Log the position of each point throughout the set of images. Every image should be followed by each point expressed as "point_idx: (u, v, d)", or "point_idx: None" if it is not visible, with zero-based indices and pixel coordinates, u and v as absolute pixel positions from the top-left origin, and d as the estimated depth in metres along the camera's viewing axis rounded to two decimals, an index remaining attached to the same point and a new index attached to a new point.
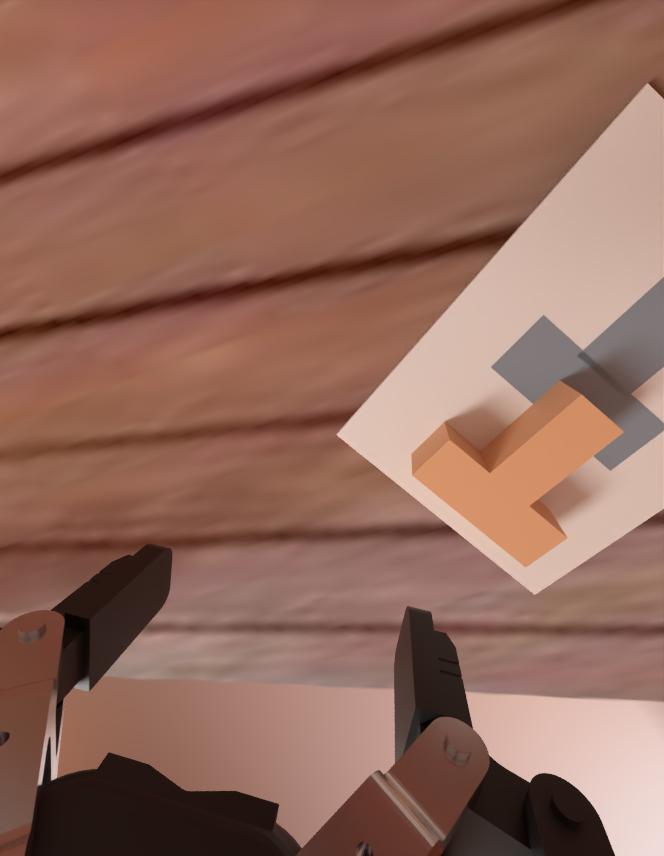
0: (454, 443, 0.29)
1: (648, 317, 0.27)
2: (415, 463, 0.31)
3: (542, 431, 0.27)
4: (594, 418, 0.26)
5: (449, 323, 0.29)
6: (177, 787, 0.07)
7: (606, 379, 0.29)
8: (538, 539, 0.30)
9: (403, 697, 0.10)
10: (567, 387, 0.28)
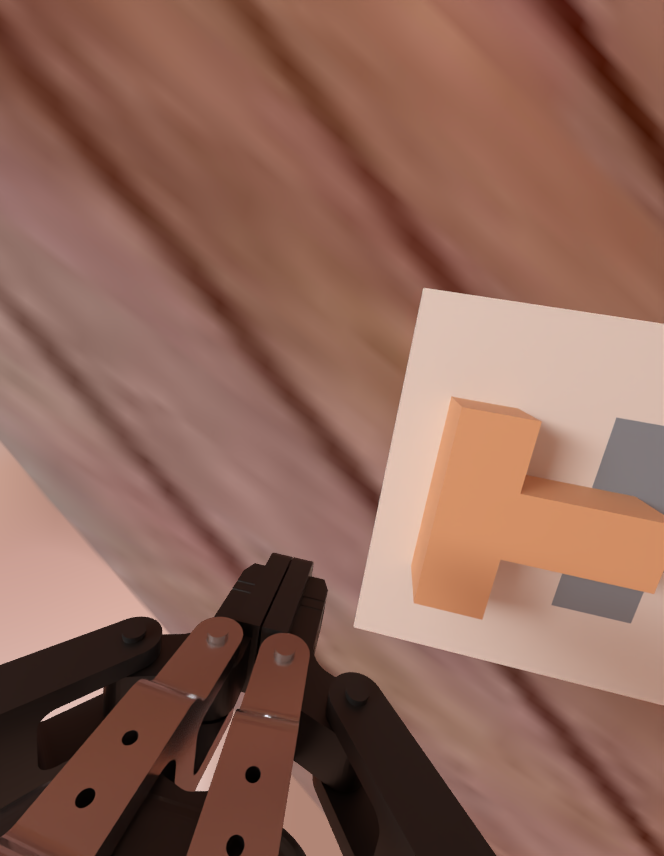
0: (537, 430, 0.20)
1: None
2: (465, 404, 0.22)
3: (612, 515, 0.20)
4: (657, 556, 0.20)
5: (652, 338, 0.22)
6: (177, 787, 0.07)
7: None
8: (461, 594, 0.22)
9: None
10: (652, 508, 0.22)
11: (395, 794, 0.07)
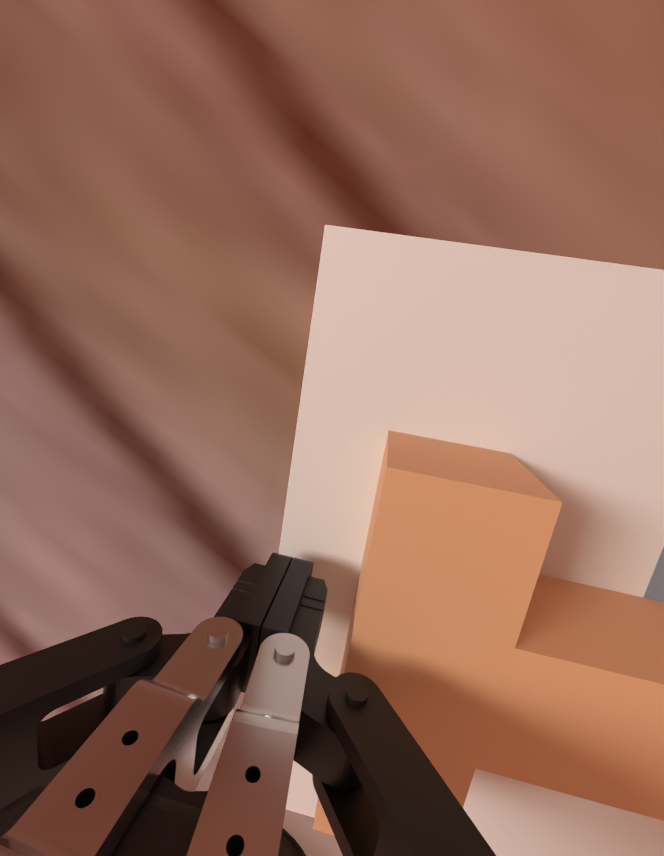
0: (552, 520, 0.09)
1: None
2: (403, 453, 0.11)
3: None
4: None
5: None
6: (177, 787, 0.07)
7: None
8: None
9: None
10: None
11: (395, 794, 0.07)
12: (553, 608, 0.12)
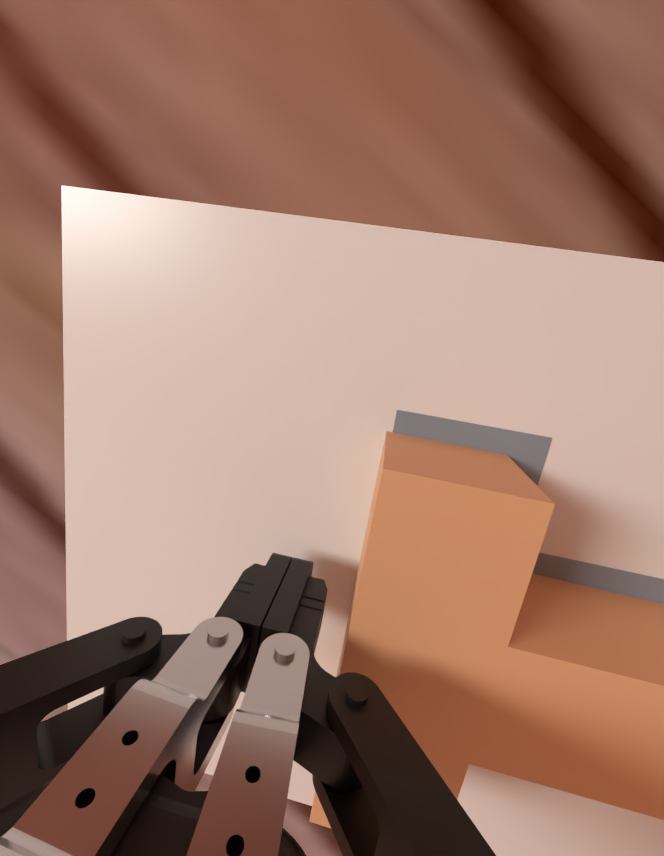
0: (545, 521, 0.09)
1: None
2: (400, 454, 0.11)
3: None
4: None
5: (439, 264, 0.12)
6: (177, 787, 0.07)
7: None
8: None
9: None
10: None
11: (395, 794, 0.07)
12: (547, 608, 0.12)
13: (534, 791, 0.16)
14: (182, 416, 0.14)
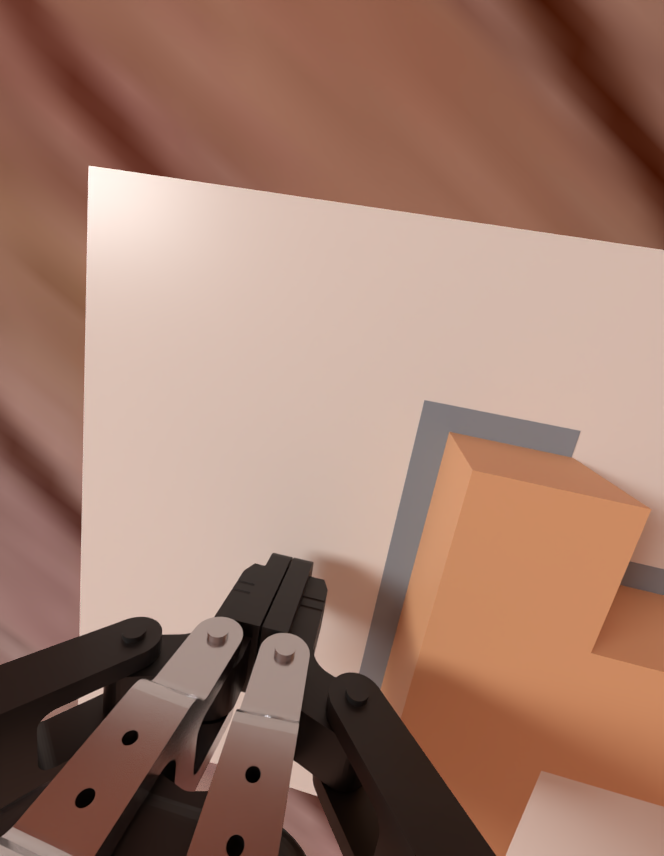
0: (638, 526, 0.09)
1: None
2: (478, 456, 0.11)
3: None
4: None
5: (473, 253, 0.12)
6: (177, 787, 0.07)
7: None
8: None
9: None
10: None
11: (395, 794, 0.07)
12: (617, 613, 0.12)
13: (548, 785, 0.16)
14: (205, 403, 0.14)
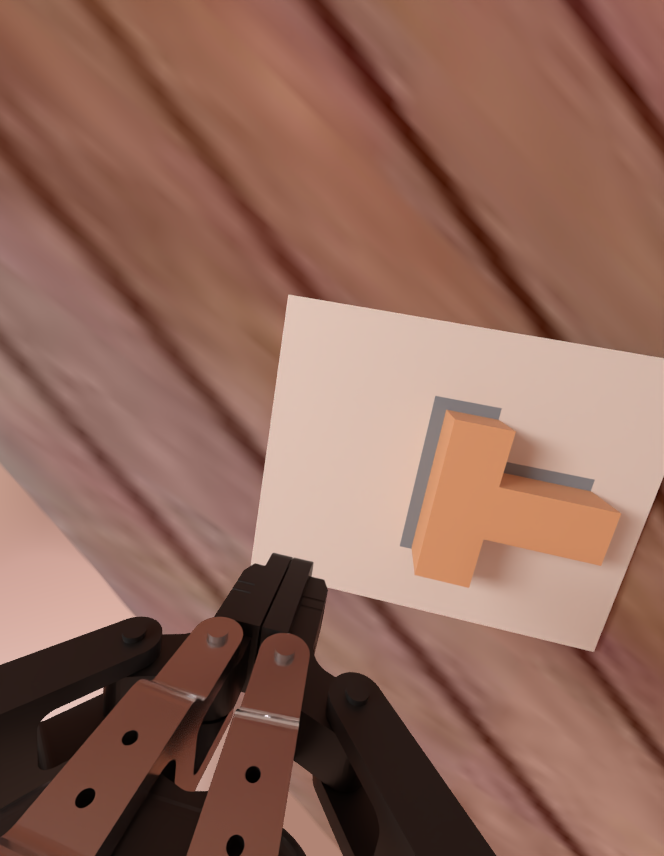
0: (512, 438, 0.26)
1: None
2: (457, 416, 0.27)
3: (568, 504, 0.26)
4: (602, 536, 0.26)
5: (455, 335, 0.29)
6: (177, 787, 0.07)
7: None
8: (453, 567, 0.28)
9: None
10: (601, 500, 0.28)
11: (395, 794, 0.07)
12: (515, 482, 0.28)
13: (495, 581, 0.32)
14: (334, 398, 0.31)
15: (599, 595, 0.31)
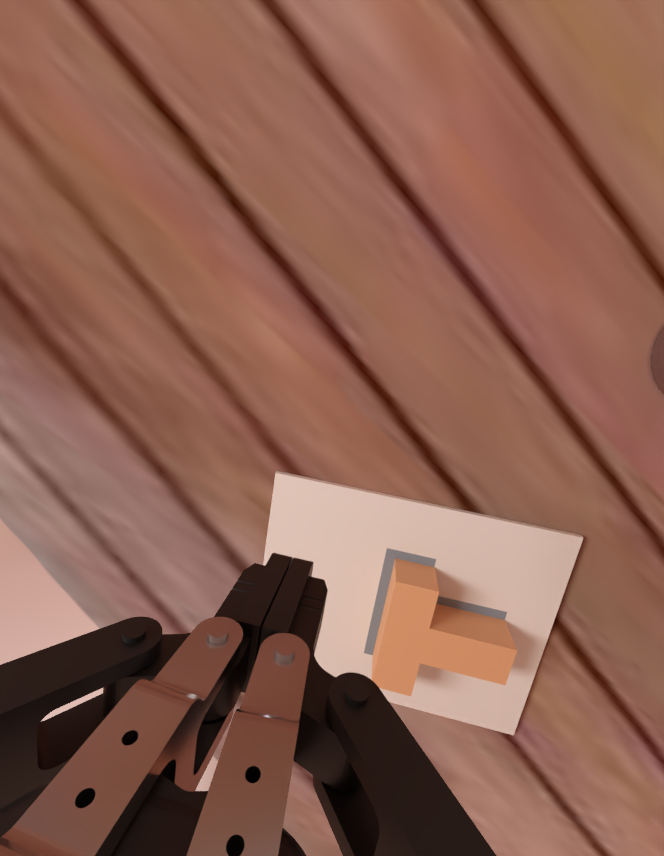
0: (437, 595, 0.36)
1: None
2: (400, 573, 0.37)
3: (479, 642, 0.36)
4: (505, 665, 0.36)
5: (400, 507, 0.38)
6: (177, 787, 0.07)
7: None
8: (398, 681, 0.38)
9: None
10: (508, 632, 0.38)
11: (395, 794, 0.07)
12: (445, 617, 0.38)
13: (437, 681, 0.42)
14: (311, 546, 0.41)
15: (515, 694, 0.41)
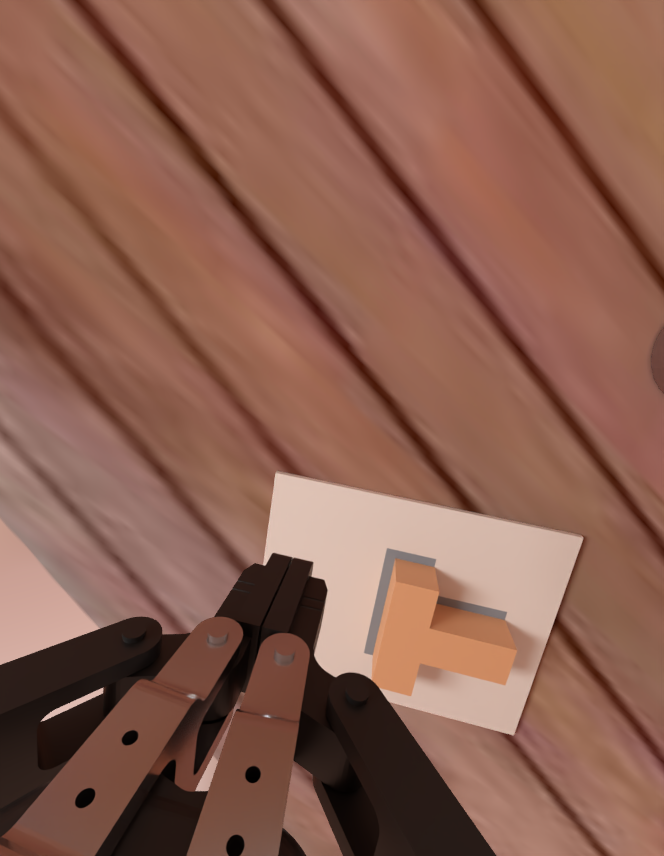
0: (437, 595, 0.36)
1: None
2: (400, 573, 0.37)
3: (479, 642, 0.36)
4: (505, 665, 0.36)
5: (400, 507, 0.38)
6: (177, 787, 0.07)
7: None
8: (398, 681, 0.38)
9: None
10: (508, 632, 0.38)
11: (395, 794, 0.07)
12: (445, 617, 0.38)
13: (437, 681, 0.42)
14: (311, 546, 0.41)
15: (516, 694, 0.41)
